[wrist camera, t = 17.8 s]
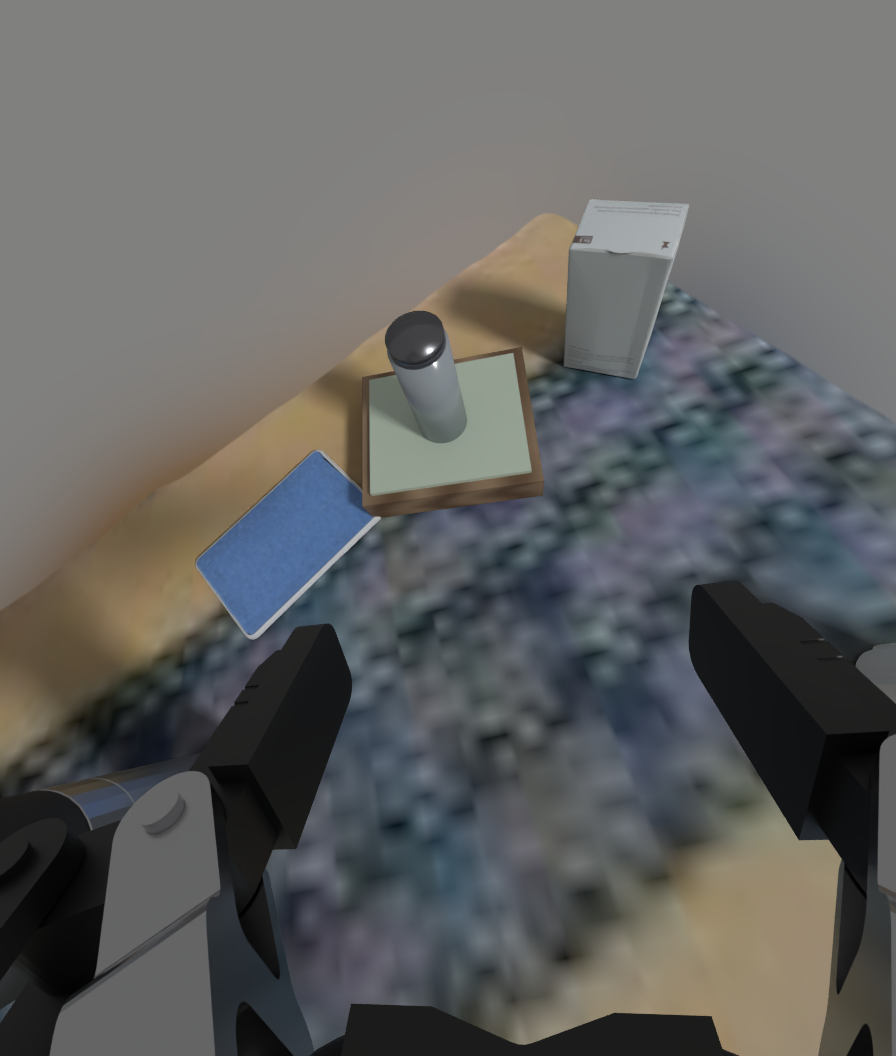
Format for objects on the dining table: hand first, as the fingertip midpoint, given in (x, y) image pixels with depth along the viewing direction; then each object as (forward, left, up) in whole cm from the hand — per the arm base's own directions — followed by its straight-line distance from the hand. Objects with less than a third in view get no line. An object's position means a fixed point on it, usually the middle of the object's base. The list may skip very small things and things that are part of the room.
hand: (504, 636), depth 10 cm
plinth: (-5, +24, -31) cm, 40 cm away
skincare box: (+13, +32, -31) cm, 47 cm away
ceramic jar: (-5, +24, -27) cm, 36 cm away
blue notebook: (-24, +15, -31) cm, 42 cm away
